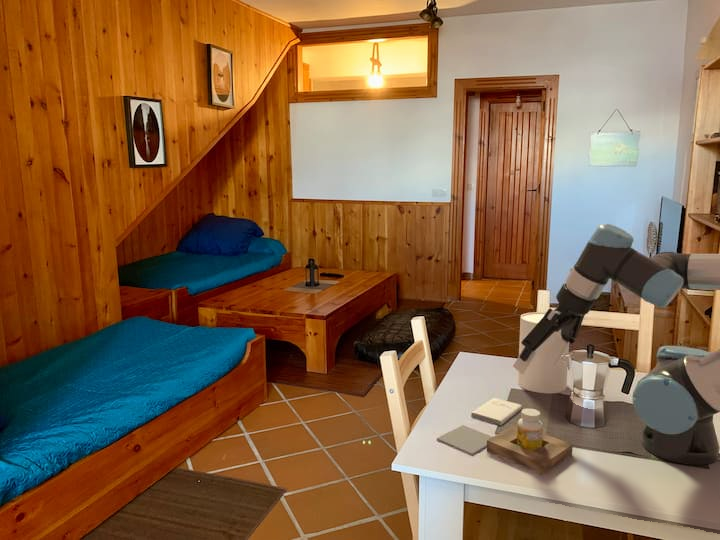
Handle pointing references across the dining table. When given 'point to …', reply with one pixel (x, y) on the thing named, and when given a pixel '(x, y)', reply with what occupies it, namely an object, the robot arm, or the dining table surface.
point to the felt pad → (465, 439)
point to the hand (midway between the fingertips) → (534, 365)
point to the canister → (542, 361)
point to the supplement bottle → (530, 430)
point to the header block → (537, 461)
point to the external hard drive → (496, 411)
